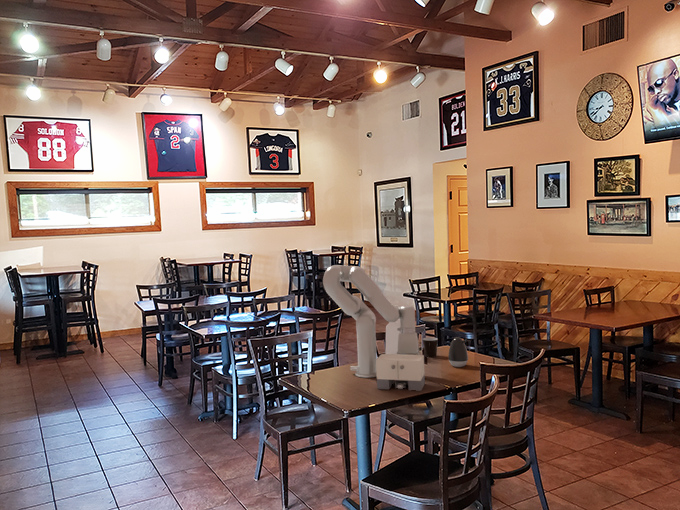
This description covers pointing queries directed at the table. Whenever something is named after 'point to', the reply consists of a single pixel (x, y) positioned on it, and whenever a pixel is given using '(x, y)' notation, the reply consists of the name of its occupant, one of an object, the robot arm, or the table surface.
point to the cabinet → (400, 370)
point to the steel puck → (400, 385)
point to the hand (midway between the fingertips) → (408, 366)
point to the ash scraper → (403, 380)
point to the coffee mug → (430, 347)
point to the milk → (392, 337)
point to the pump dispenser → (458, 353)
